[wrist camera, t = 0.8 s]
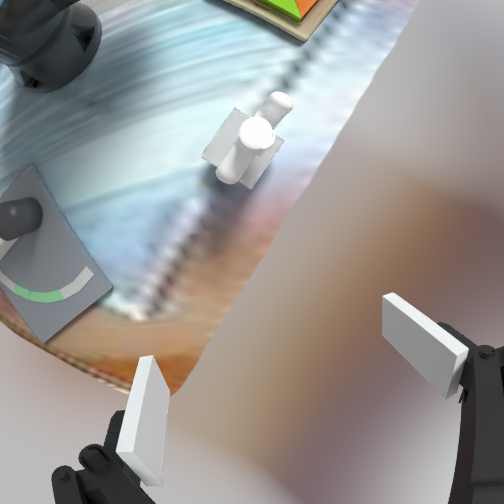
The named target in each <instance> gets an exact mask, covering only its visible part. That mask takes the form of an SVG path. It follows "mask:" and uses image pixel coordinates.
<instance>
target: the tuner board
mask: <svg viewBox="0 0 504 504" xmlns="http://www.w3.org/2000/svg"><path fill="white" fill-rule="evenodd" d="M26 197H32V198H35V199H36V200H37V201H38V202H39V204H40V205H41V208H42V214H43V216H42V222H41V225H40V226H39V228H38V229H37V230H36V231H34V232H31V233H28V234H26V235H23V236H21V237H19V238H18V239H17V241H16V242H15V243H14V244H13V245H12V247H11V248H10V249H9V250H8V252H7V253H6V254H5V255H4V257H3V258H2V259H1V260H0V287H1V288H2V290H3V292H4V293H5V295H6V296H7V298H8V299H9V301H10V302H11V303H12V305H13V306H14V308H15V309H16V310H17V312H18V313H19V315H20V316H21V317H22V319H23V320H24V321H25V323H26V324H27V325H28V327H29V328H30V329H31V330H32V332H33V333H34V334H35V336H36V337H37V338H38V339H39V340H40V342H41V343H42V344H43V343H45V342H46V341H47V340H48V339H49V338H50V337H52V336H53V335H54V334H55V333H56V332H58V331H59V330H60V329H61V328H63V327H64V326H65V325H66V324H67V323H69V322H70V321H71V320H72V319H74V318H75V317H76V316H77V315H79V314H80V313H81V312H82V311H84V310H85V309H86V308H87V307H89V306H90V305H91V304H92V303H94V302H95V301H96V300H98V299H99V298H100V297H101V296H103V295H104V294H105V293H107V292H108V291H109V290H110V289H111V288H112V287H113V285H112V284H111V282H110V281H109V280H108V278H107V277H106V276H105V274H104V273H103V272H102V270H101V269H100V268H99V266H98V265H97V264H96V262H95V261H94V259H93V258H92V257H91V255H90V254H89V252H88V251H87V249H86V248H85V247H84V245H83V244H82V242H81V241H80V239H79V238H78V236H77V235H76V233H75V232H74V230H73V229H72V227H71V226H70V224H69V223H68V221H67V219H66V218H65V216H64V215H63V213H62V212H61V210H60V208H59V207H58V205H57V203H56V202H55V200H54V198H53V197H52V195H51V193H50V192H49V190H48V188H47V186H46V185H45V183H44V181H43V179H42V178H41V176H40V174H39V172H38V170H37V168H36V167H35V165H34V164H29V165H28V166H27V167H26V168H25V169H24V170H23V171H22V173H21V174H20V175H19V176H18V177H17V178H16V180H15V181H14V182H13V183H12V184H11V186H10V187H9V188H8V189H7V190H6V192H5V193H4V194H3V195H2V197H1V198H0V203H2V202H5V201H10V200H15V199H21V198H26Z"/></svg>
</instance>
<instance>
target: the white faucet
mask: <svg viewBox="0 0 504 504" xmlns="http://www.w3.org/2000/svg"><path fill="white" fill-rule="evenodd" d="M292 108H293V102H292V100H291V99H290V98H289V97H288V96H287V95H286V94H284V93H281V92H273V93H271V94H270V95H269V96H268V98H267V99H266V100H265V101H264V102H263V104H262V105H261V106H260V108H259V109H258V111H257V112H256V114H255V115H254V117H253V118H251V117H249V116H247V115H246V114H244V113H243V112H241V111H240V110H238V109H237V108H234V109H233V110H232V112H231V113H230V115H229V116H228V117H227V119H226V120H225V121H224V123H223V124H222V126H221V127H220V128H219V130H218V131H217V133H216V134H215V135H214V137H213V138H212V140H211V141H210V143H209V144H208V146H207V147H206V148H205V150H204V151H203V153H202V154H201V156H200V157H201V158H203V159H204V160H206V161H208V162H209V163H211V164H212V165H214V166H215V167H217V169H216V176H217V178H218V179H219V180H221V181H222V182H224V183H226V184H235V183H236V182H237V181H239V182H240V183H242V184H243V185H245V186H246V187H248V188H249V189H251V190H252V188H253V187H254V185H255V184H256V182H257V181H258V179H259V178H260V176H261V175H262V173H263V172H264V171H265V169H266V168H267V166H268V165H269V163H270V162H271V160H272V159H273V157H274V156H275V154H276V153H277V152H278V150H279V149H280V147H281V146H282V144H283V143H284V140H283V139H281V138H280V137H279V136H277V135H276V132H275V131H273V130H274V128H275V127H276V126H277V124H278V123H279V122H280V121H281V120H282V119H283V118H284V117H285V115H286V114H288V113H289V112H290V111H291V110H292Z"/></svg>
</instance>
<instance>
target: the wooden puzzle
mask: <svg viewBox="0 0 504 504" xmlns="http://www.w3.org/2000/svg"><path fill="white" fill-rule="evenodd" d="M223 1H225V2H228V3H230V4H232V5H234V6H237V7H239V8H241V9H243V10H245V11H247V12H249V13H252V14H254V15H256V16H258V17H260V18H261V19H263V20H265V21H267V22H269V23H271V24H273V25H275V26H276V27H278V28H280V29H282V30H284V31H285V32H287V33H289V34H291V35H292V36H294V37H296V38H297V39H299V40H301V41H307V40H308V38H309V37H310V36H311V35H312V33H313V32H314V31H315V29H316V28H317V27H318V25H319V24H320V23H321V21H322V20H323V19H324V17H325V16H326V15H327V14H328V12H329V11H330V10H331V8H332V7H333V6H334V5H335V3H336V2H337V1H338V0H223Z"/></svg>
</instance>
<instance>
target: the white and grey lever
mask: <svg viewBox="0 0 504 504" xmlns="http://www.w3.org/2000/svg"><path fill="white" fill-rule="evenodd" d="M42 216H43V214H42V208H41V205H40V204H39V202H38V201H37V200H36V199H35V198H32V197H26V198H21V199H15V200H10V201H5V202H2V203H0V260H1V259H2V258H3V257H4V255H5V254H6V253H7V252H8V250H9V249H10V248H11V247H12V245H13V244H14V243H15V242H16V241H17V239H18V238H19V237H21V236H23V235H26V234H28V233H31V232H34V231H36V230H37V229H38V228H39V226H40V225H41V222H42Z"/></svg>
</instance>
